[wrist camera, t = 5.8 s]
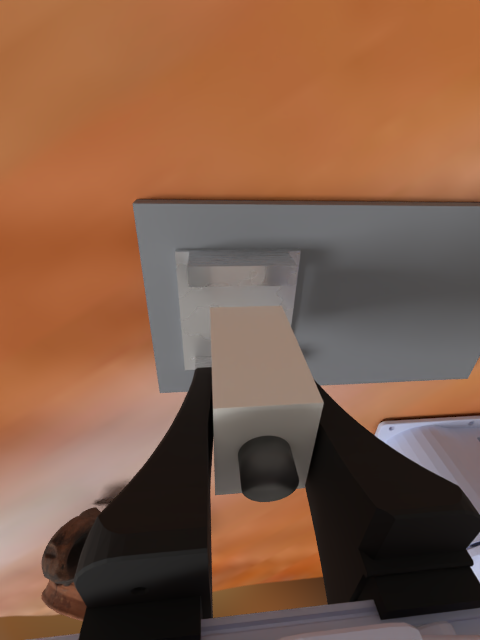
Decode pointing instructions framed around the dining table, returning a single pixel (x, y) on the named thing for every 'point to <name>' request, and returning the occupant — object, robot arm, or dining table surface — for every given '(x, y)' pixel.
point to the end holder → (229, 289)
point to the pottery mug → (66, 565)
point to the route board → (335, 282)
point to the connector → (260, 404)
